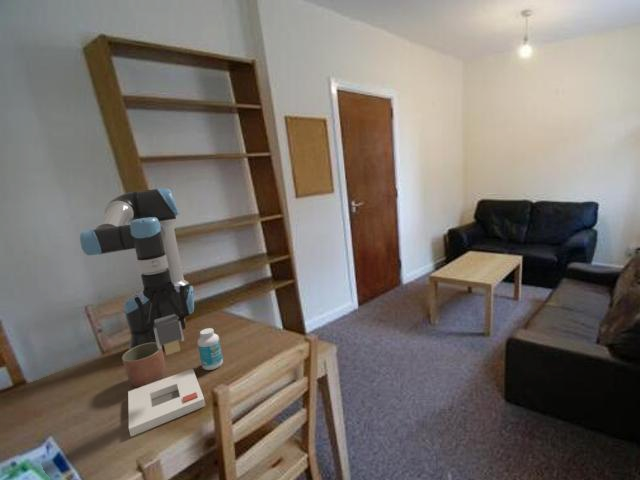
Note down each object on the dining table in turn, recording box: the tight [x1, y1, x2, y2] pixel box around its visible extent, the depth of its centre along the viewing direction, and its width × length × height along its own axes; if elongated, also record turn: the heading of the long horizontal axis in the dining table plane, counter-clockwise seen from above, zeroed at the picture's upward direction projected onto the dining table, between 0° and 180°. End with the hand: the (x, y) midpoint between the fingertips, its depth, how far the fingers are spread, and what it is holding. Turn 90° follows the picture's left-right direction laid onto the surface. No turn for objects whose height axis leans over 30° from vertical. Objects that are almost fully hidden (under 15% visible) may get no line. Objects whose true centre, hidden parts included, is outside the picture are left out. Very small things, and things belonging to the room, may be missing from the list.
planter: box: [121, 342, 166, 388], centre depth 119 cm, size 12×12×11 cm
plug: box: [154, 314, 182, 356], centre depth 104 cm, size 6×6×10 cm
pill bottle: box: [197, 327, 224, 371], centre depth 123 cm, size 8×7×14 cm
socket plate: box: [127, 368, 207, 438], centre depth 106 cm, size 20×20×3 cm
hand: (170, 342), depth 104 cm, fingers closed on plug, 6 cm apart
